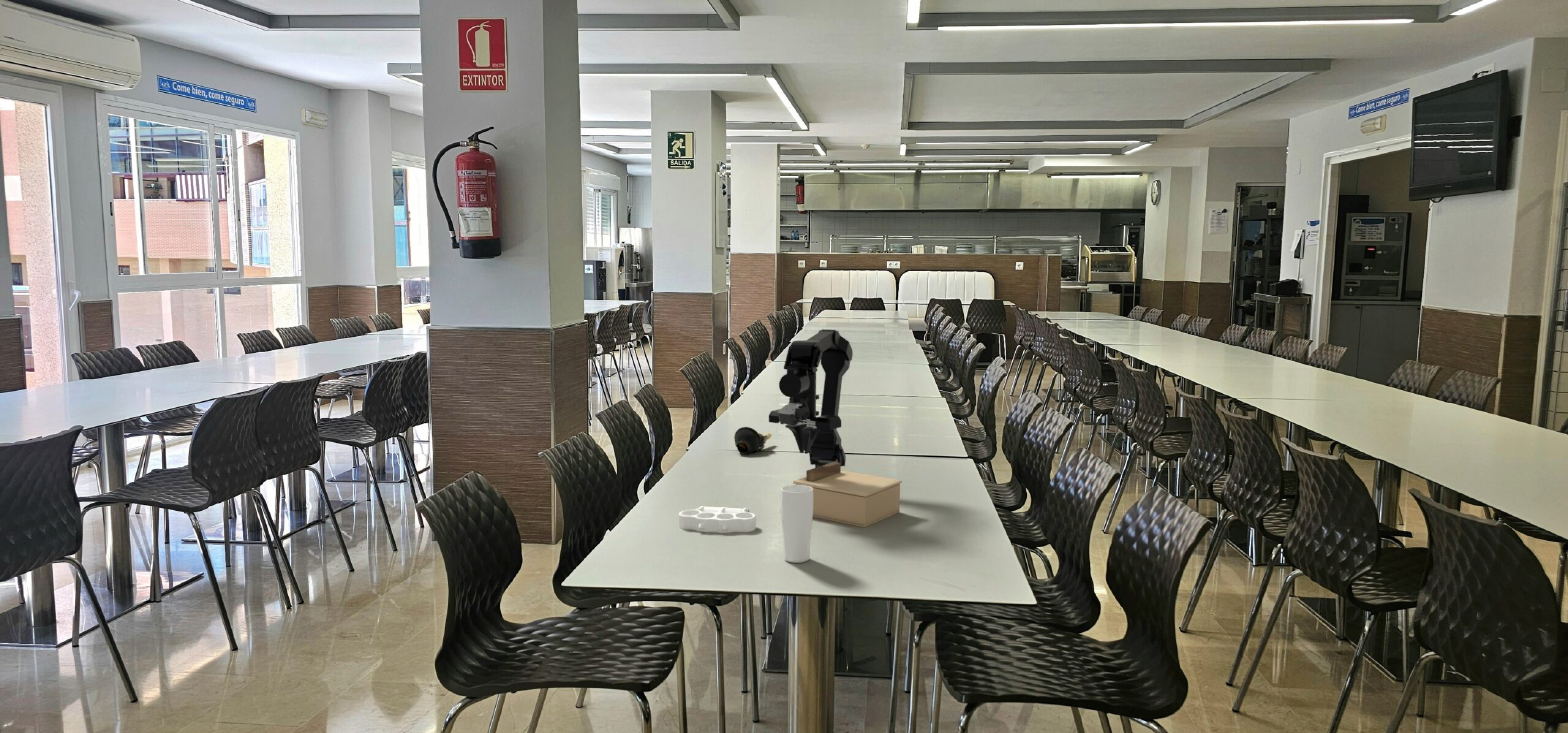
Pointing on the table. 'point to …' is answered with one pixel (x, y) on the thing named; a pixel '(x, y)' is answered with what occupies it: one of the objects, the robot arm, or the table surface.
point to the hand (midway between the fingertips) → (804, 453)
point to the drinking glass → (797, 521)
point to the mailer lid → (845, 480)
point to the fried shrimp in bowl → (749, 440)
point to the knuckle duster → (718, 519)
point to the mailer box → (856, 506)
